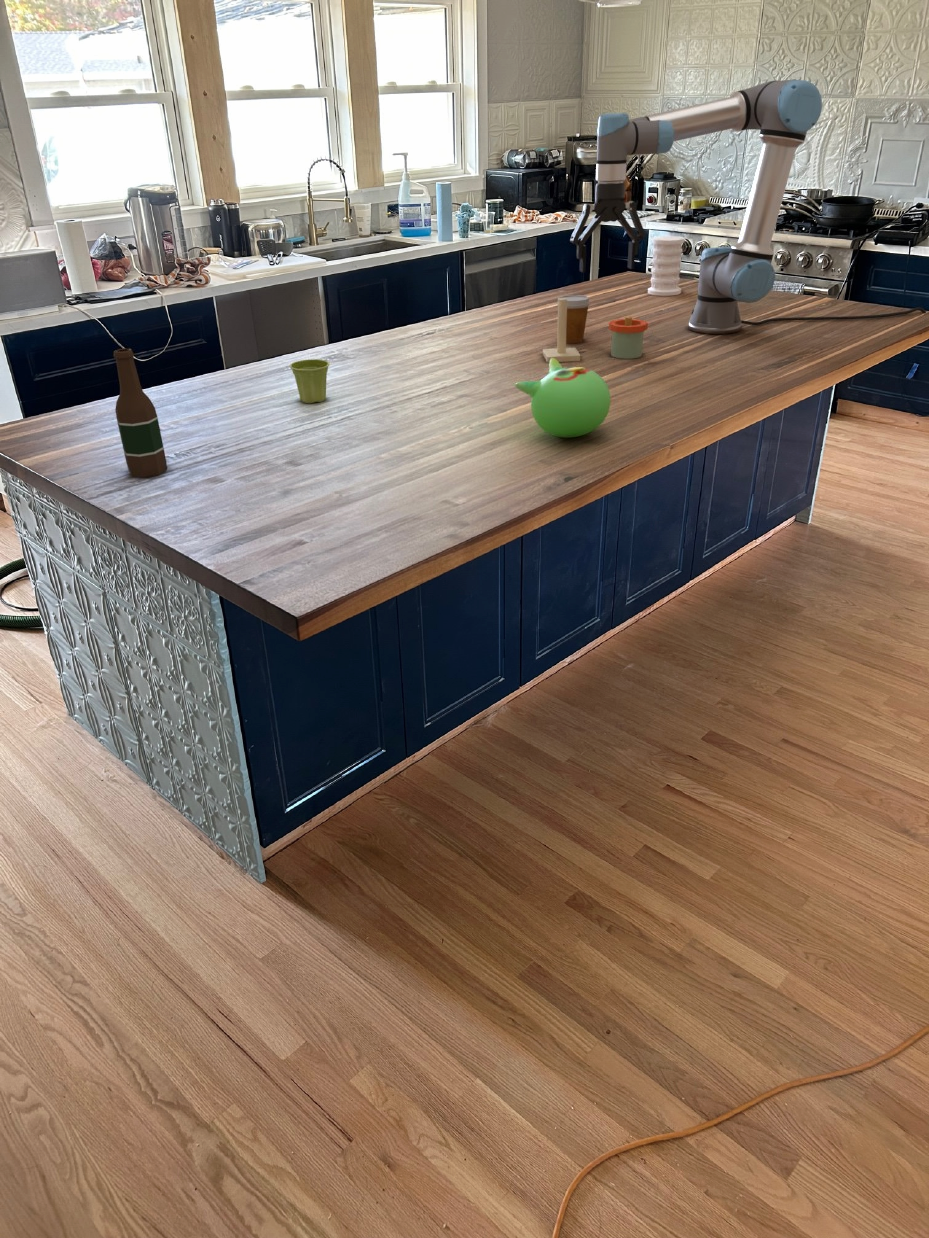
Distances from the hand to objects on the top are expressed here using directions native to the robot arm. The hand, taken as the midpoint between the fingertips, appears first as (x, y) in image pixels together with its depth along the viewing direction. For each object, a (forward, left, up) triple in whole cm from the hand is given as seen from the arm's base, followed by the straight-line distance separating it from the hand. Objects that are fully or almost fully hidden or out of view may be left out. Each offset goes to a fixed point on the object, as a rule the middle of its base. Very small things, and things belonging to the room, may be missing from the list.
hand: (606, 270), depth 246 cm
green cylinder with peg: (-6, +4, -22) cm, 23 cm away
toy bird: (+20, +68, -22) cm, 75 cm away
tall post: (+12, +4, -22) cm, 25 cm away
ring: (-6, +4, -15) cm, 16 cm away
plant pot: (+77, +34, -22) cm, 87 cm away
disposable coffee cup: (+6, -15, -22) cm, 27 cm away
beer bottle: (+106, +79, -22) cm, 134 cm away
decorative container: (-37, -80, -22) cm, 90 cm away
